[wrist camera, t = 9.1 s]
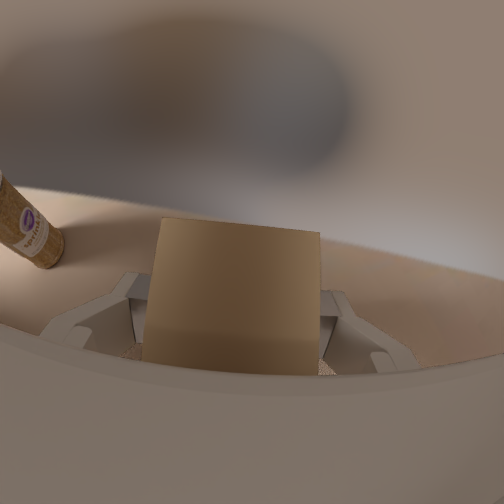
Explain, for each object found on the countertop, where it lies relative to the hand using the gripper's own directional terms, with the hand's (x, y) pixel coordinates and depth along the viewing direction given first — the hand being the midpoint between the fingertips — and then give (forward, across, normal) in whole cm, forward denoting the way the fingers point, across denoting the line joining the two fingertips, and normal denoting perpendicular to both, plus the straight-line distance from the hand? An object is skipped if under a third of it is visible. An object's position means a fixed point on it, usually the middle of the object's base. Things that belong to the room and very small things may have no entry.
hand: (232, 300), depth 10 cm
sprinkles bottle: (+14, +19, +6) cm, 25 cm away
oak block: (+3, 0, +4) cm, 4 cm away
